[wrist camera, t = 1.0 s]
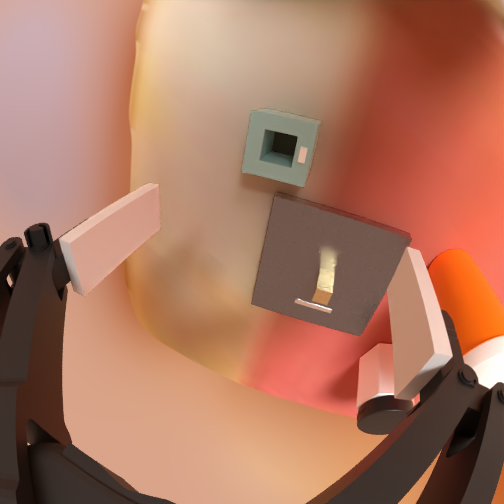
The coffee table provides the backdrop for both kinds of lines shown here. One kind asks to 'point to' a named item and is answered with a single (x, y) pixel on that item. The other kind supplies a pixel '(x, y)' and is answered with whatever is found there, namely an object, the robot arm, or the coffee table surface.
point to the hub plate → (326, 264)
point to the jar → (379, 393)
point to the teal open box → (274, 163)
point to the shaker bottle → (471, 313)
